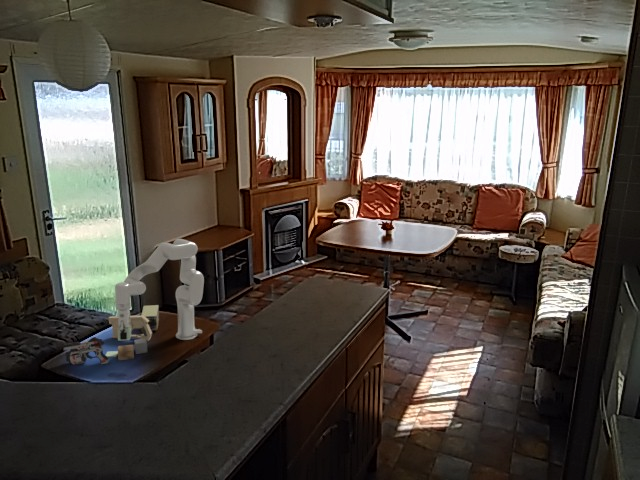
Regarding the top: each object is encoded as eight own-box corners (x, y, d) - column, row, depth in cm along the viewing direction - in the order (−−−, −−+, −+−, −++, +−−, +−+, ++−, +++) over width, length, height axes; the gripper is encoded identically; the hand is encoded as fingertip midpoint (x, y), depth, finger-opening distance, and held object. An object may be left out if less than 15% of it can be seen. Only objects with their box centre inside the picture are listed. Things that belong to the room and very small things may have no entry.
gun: (153, 338, 311) (150, 315, 308) (150, 341, 308) (147, 317, 305) (114, 339, 314) (110, 315, 311) (111, 341, 311) (107, 317, 307)
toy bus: (140, 332, 318) (140, 317, 317) (143, 320, 341) (143, 305, 339) (157, 331, 321) (157, 316, 319) (159, 319, 343) (159, 304, 341)
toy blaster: (70, 367, 281) (63, 341, 277) (110, 360, 281) (103, 334, 278) (68, 370, 277) (60, 344, 273) (108, 363, 278) (101, 337, 274)
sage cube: (131, 335, 289) (130, 325, 288) (129, 340, 283) (129, 329, 282) (119, 336, 288) (119, 325, 286) (117, 340, 282) (117, 330, 281)
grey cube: (145, 348, 299) (145, 338, 298) (147, 352, 294) (146, 342, 293) (134, 349, 297) (134, 339, 295) (136, 354, 291) (135, 344, 290)
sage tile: (118, 352, 293) (118, 351, 293) (116, 356, 287) (116, 355, 287) (107, 352, 292) (107, 351, 292) (105, 357, 286) (104, 356, 286)
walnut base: (133, 352, 293) (133, 344, 292) (134, 358, 286) (133, 350, 285) (118, 354, 291) (118, 346, 289) (118, 360, 283) (117, 352, 282)
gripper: (128, 310, 274) (129, 343, 278) (133, 300, 290) (134, 330, 294) (112, 311, 272) (114, 343, 276) (118, 300, 289) (120, 330, 293)
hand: (124, 336), depth 285 cm, fingers closed on sage cube, 6 cm apart
